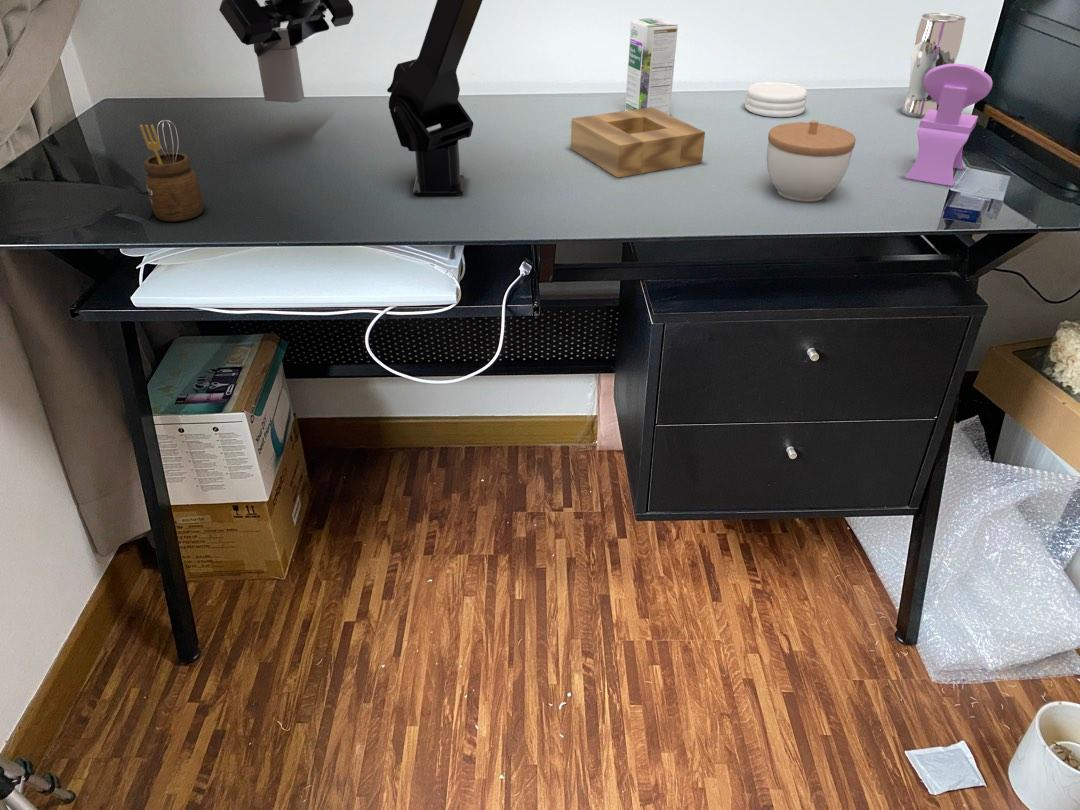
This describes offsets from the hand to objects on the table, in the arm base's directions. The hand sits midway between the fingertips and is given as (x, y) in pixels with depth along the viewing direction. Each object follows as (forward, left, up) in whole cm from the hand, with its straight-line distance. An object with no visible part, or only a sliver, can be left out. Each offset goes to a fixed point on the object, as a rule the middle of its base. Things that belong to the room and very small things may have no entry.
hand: (270, 50), depth 123 cm
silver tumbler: (+12, -103, -13) cm, 105 cm away
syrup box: (+13, -57, -13) cm, 60 cm away
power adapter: (-1, -1, -7) cm, 7 cm away
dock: (-8, -52, -13) cm, 55 cm away
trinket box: (-24, -72, -13) cm, 78 cm away
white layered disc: (+15, -79, -13) cm, 82 cm away
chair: (-17, -93, -13) cm, 96 cm away
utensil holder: (-28, +8, -13) cm, 32 cm away
